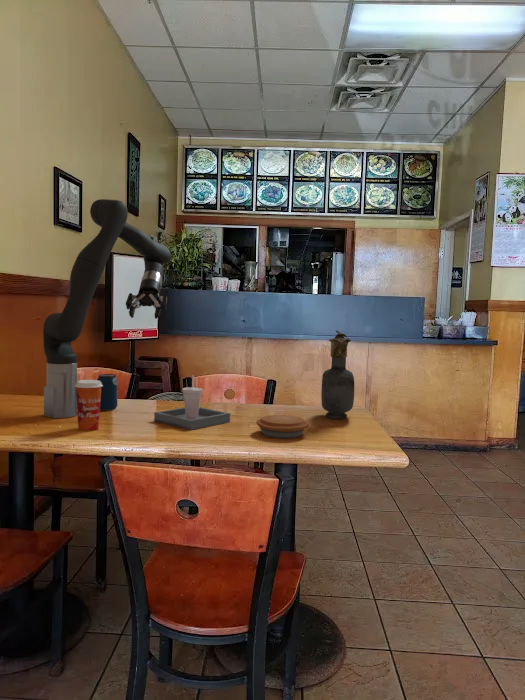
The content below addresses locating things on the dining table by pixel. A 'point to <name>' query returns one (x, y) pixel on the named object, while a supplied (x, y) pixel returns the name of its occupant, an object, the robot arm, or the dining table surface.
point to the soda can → (108, 391)
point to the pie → (282, 426)
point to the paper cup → (88, 404)
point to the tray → (204, 419)
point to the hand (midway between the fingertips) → (143, 316)
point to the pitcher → (338, 381)
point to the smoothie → (192, 401)
